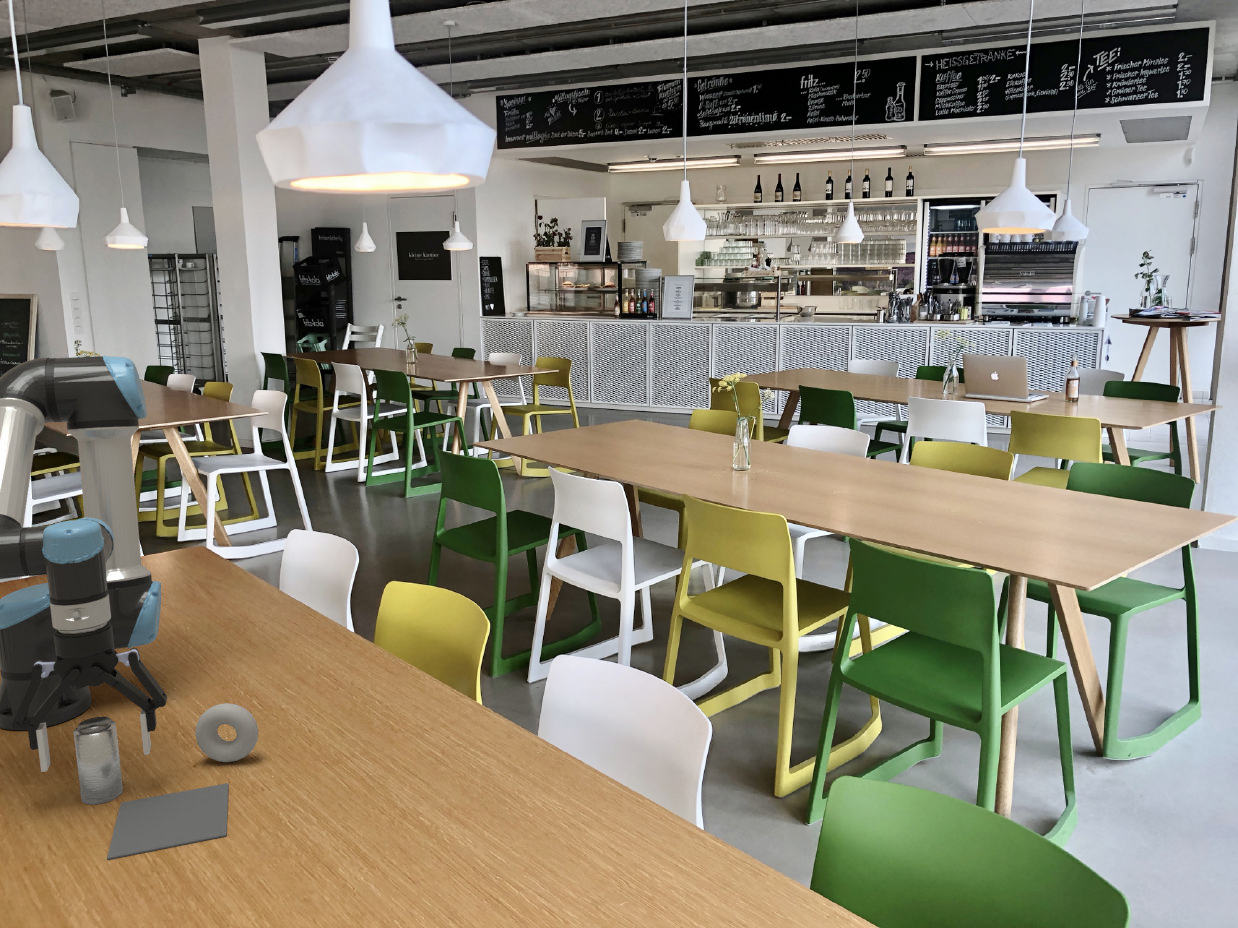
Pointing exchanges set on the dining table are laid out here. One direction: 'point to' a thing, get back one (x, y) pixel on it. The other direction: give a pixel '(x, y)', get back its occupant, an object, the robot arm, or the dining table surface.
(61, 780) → the dining table surface
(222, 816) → the mat
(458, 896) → the dining table surface
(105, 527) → the robot arm
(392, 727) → the dining table surface
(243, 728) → the donut
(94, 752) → the shaker
